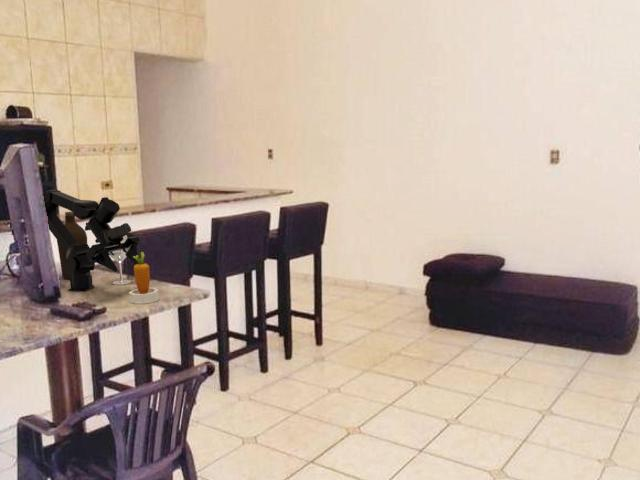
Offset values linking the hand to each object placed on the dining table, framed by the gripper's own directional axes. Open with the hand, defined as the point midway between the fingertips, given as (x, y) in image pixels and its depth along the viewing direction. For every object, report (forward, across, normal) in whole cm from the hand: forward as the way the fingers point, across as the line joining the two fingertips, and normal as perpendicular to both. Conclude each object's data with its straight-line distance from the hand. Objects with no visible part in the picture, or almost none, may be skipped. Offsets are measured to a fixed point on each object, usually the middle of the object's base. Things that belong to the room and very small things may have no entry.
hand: (128, 268), depth 201 cm
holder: (+12, 0, +2) cm, 12 cm away
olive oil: (-22, +11, +38) cm, 45 cm away
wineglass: (-6, +13, +21) cm, 26 cm away
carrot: (+11, 0, +2) cm, 11 cm away
